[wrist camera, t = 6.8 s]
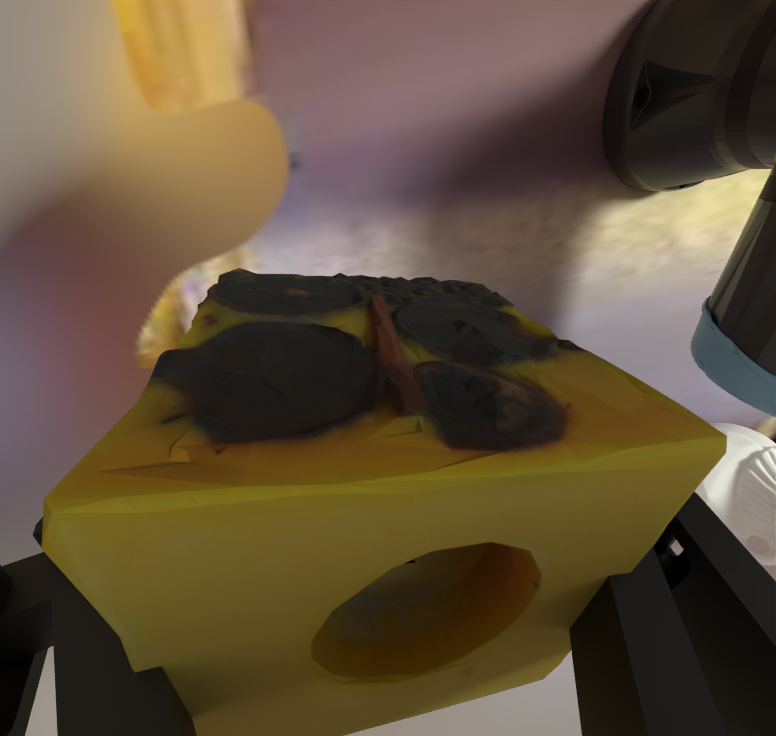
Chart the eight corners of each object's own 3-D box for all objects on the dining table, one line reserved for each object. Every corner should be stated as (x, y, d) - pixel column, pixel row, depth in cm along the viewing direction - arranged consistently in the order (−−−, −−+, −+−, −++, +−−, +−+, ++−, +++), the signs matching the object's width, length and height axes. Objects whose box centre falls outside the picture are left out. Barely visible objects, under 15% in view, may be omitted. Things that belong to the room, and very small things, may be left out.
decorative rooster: (719, 389, 52) (998, 534, 31) (724, 441, 60) (946, 584, 39) (580, 475, 56) (746, 656, 35) (602, 513, 64) (747, 678, 43)
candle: (248, 471, 16) (184, 785, 8) (215, 264, 11) (-46, 513, 3) (441, 455, 19) (549, 687, 10) (482, 276, 14) (758, 439, 5)
